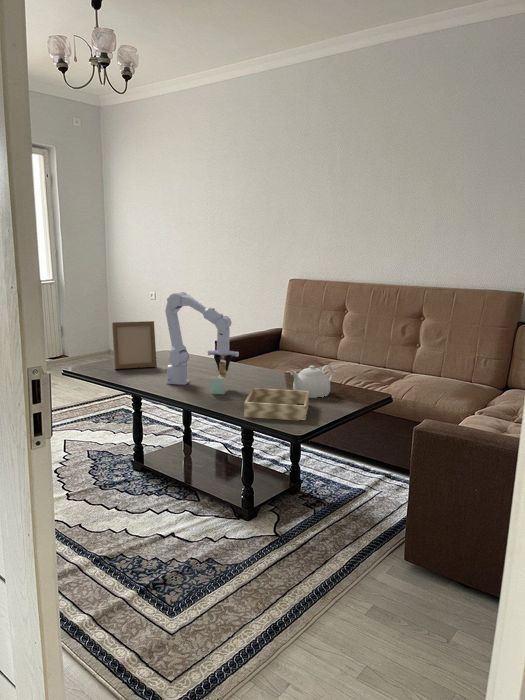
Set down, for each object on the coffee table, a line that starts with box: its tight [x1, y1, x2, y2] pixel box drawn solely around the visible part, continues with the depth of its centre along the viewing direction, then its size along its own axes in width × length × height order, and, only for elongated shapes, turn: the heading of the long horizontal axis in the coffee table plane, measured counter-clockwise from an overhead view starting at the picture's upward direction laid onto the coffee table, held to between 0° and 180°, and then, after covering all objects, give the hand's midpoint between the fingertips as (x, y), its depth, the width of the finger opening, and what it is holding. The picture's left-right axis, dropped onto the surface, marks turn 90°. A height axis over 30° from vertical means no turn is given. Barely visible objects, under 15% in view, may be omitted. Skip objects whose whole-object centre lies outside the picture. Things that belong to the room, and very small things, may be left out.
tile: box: [209, 375, 226, 395], centre depth 246 cm, size 6×2×8 cm, turn 83°
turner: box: [217, 361, 228, 379], centre depth 252 cm, size 3×13×6 cm, turn 173°
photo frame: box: [111, 320, 158, 370], centre depth 296 cm, size 15×22×25 cm
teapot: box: [290, 364, 335, 399], centre depth 251 cm, size 19×18×14 cm
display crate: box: [243, 387, 310, 421], centre depth 225 cm, size 24×22×6 cm
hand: (223, 370), depth 257 cm, fingers closed on turner, 3 cm apart
